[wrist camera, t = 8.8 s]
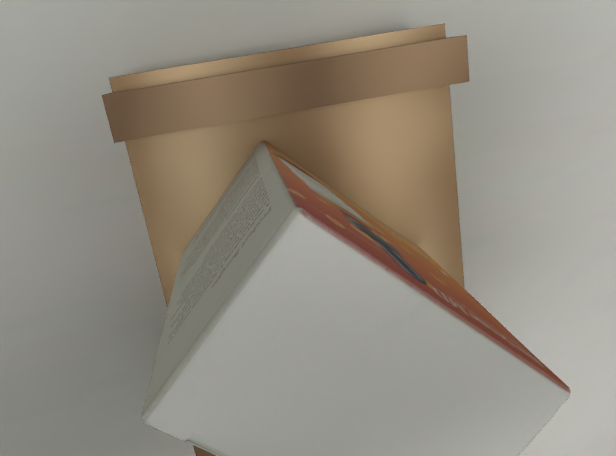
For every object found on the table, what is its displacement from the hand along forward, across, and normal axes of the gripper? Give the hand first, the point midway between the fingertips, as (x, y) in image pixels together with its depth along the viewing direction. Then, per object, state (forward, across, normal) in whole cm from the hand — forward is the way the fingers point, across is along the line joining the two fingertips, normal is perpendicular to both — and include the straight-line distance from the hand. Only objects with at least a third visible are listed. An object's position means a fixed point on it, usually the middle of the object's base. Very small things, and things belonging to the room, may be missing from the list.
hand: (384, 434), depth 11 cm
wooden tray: (+15, +1, 0) cm, 15 cm away
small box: (+12, 0, 0) cm, 12 cm away
